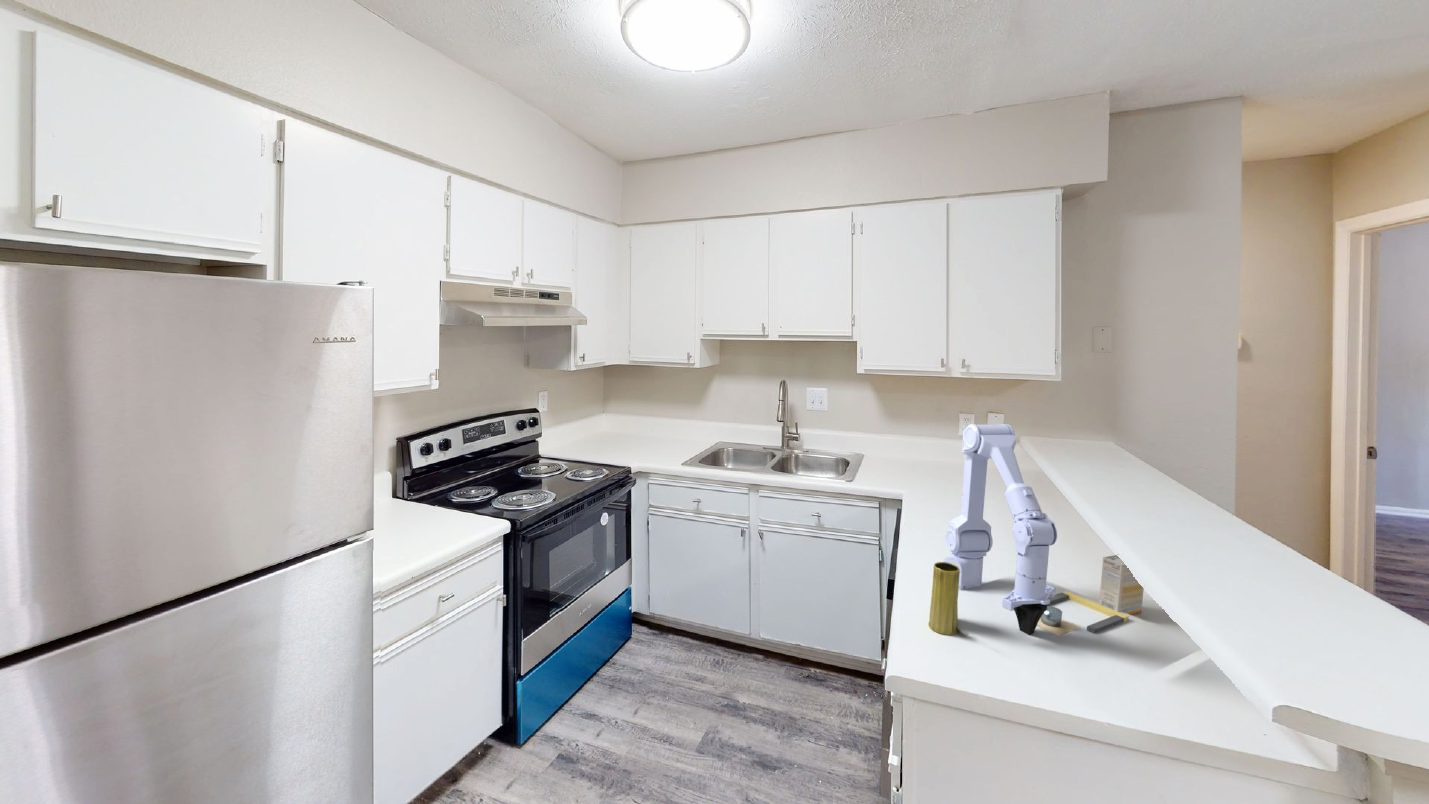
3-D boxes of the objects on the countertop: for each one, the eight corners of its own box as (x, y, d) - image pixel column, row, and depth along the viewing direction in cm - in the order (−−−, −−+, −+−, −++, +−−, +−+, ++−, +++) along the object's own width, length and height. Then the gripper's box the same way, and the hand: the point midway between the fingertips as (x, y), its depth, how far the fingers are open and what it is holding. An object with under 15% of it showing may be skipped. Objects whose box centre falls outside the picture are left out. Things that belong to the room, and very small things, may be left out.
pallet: (1057, 644, 119) (1057, 635, 119) (1021, 627, 126) (1022, 618, 126) (1079, 635, 123) (1080, 627, 123) (1044, 619, 130) (1044, 610, 130)
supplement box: (1121, 603, 137) (1126, 552, 135) (1142, 613, 132) (1147, 559, 131) (1096, 608, 134) (1102, 556, 132) (1117, 618, 130) (1122, 564, 128)
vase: (952, 638, 121) (956, 575, 119) (923, 628, 125) (927, 566, 123) (961, 627, 125) (965, 566, 123) (934, 618, 129) (937, 558, 127)
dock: (1093, 640, 120) (1094, 629, 120) (1032, 611, 133) (1033, 601, 132) (1127, 626, 126) (1128, 616, 126) (1065, 600, 138) (1066, 590, 138)
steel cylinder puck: (1054, 628, 122) (1055, 615, 122) (1037, 620, 125) (1038, 608, 125) (1064, 624, 124) (1066, 612, 123) (1047, 617, 127) (1049, 604, 127)
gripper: (1026, 588, 112) (1021, 651, 114) (1071, 574, 119) (1065, 634, 120) (995, 574, 119) (991, 635, 120) (1039, 562, 125) (1034, 619, 127)
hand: (1026, 634), depth 121 cm, fingers closed
